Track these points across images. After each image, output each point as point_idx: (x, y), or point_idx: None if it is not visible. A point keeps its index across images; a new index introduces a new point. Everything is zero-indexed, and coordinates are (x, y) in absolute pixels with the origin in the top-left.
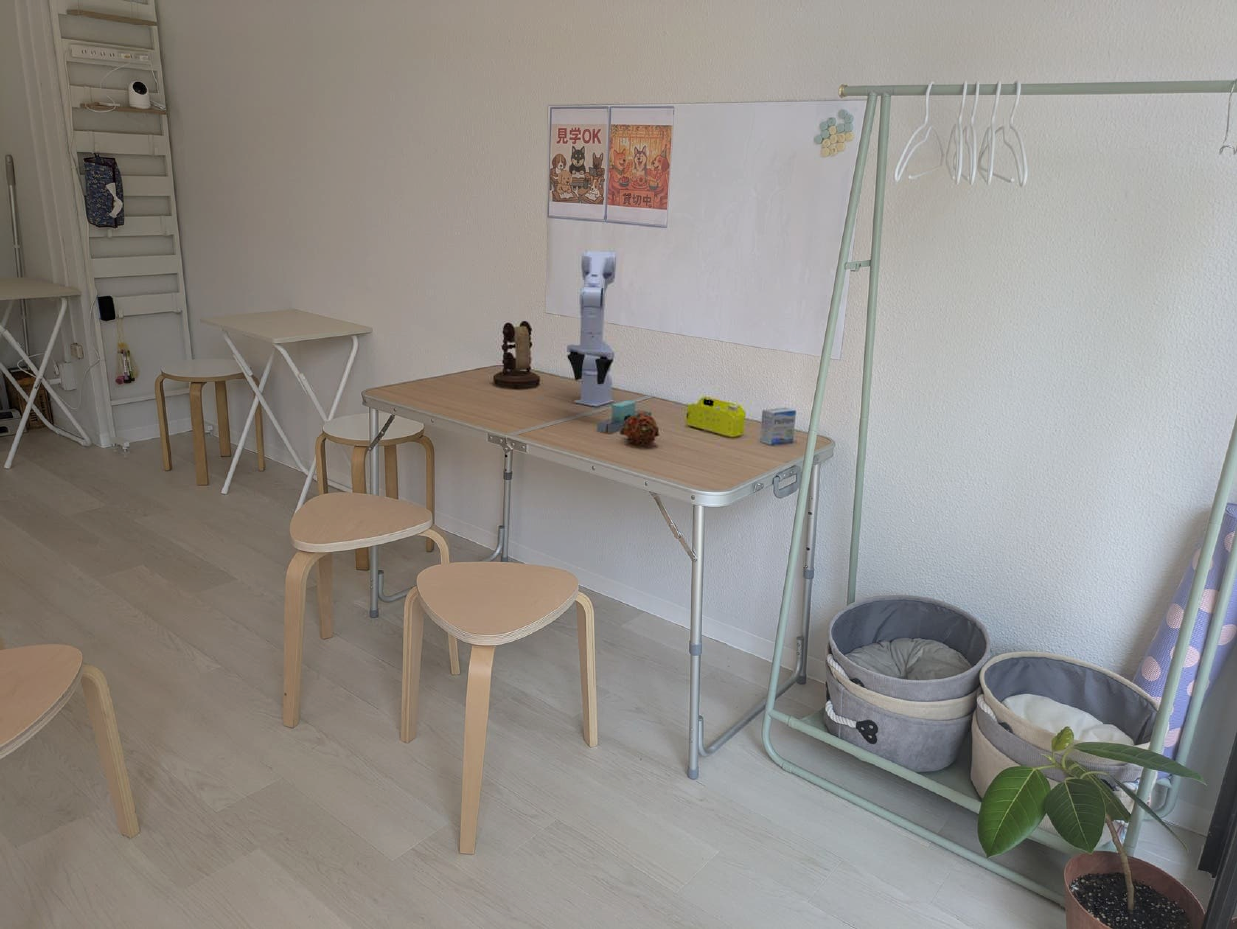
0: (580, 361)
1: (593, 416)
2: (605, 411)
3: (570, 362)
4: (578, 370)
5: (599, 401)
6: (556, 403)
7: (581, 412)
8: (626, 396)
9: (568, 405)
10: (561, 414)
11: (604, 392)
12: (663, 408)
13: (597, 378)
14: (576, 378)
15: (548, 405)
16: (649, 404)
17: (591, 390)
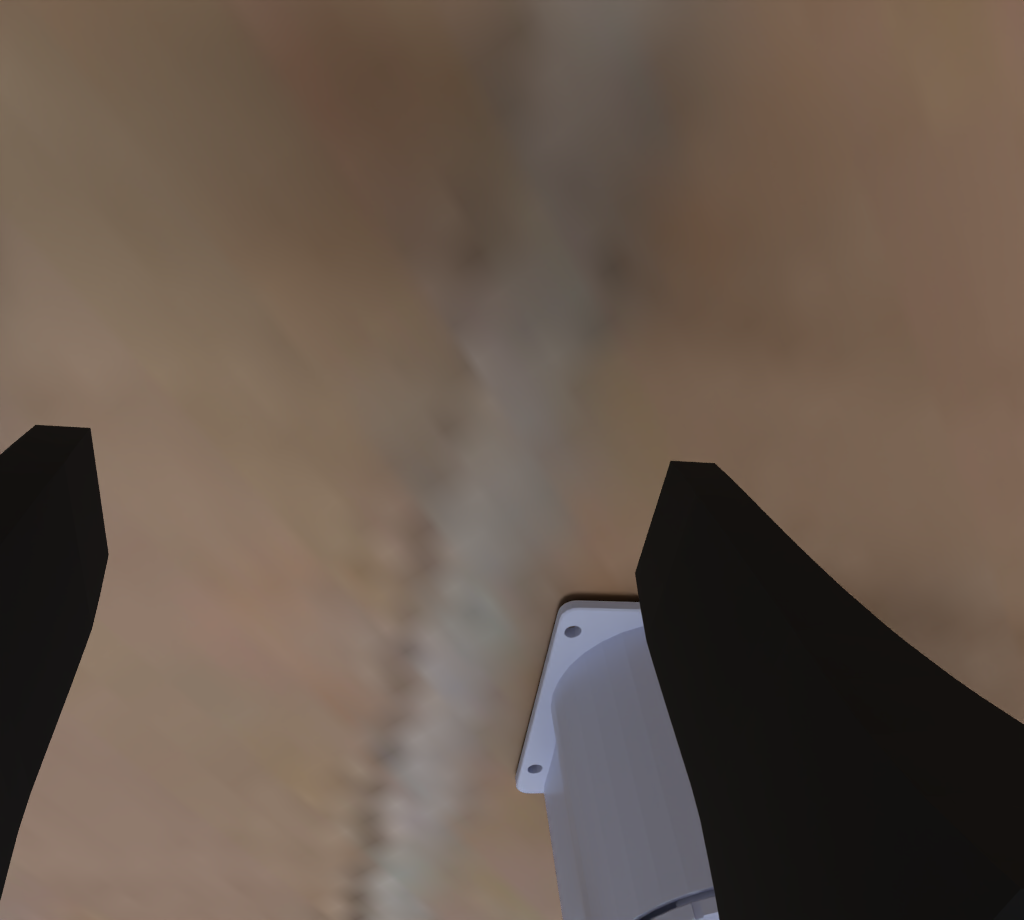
0: (768, 906)
1: (393, 317)
2: (406, 543)
3: (1018, 728)
4: (720, 658)
5: (569, 684)
6: (954, 507)
7: (594, 380)
8: (518, 903)
9: (822, 514)
10: (764, 167)
11: (565, 794)
12: (85, 843)
13: (29, 495)
14: (686, 475)
15: (1015, 407)
16: (250, 859)
17: (661, 737)
